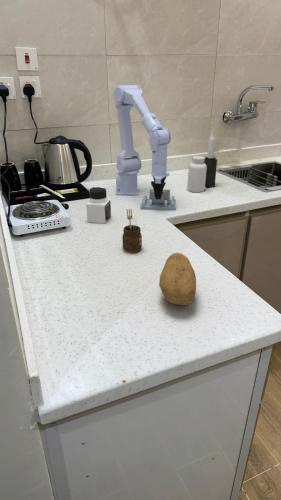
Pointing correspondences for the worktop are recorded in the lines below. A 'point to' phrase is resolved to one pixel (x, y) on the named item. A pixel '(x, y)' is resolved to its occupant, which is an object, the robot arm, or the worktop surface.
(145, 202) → the tray
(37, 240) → the worktop surface
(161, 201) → the block
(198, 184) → the pill bottle
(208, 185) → the candle
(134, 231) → the utensil holder
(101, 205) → the medicine bottle
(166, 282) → the potato
